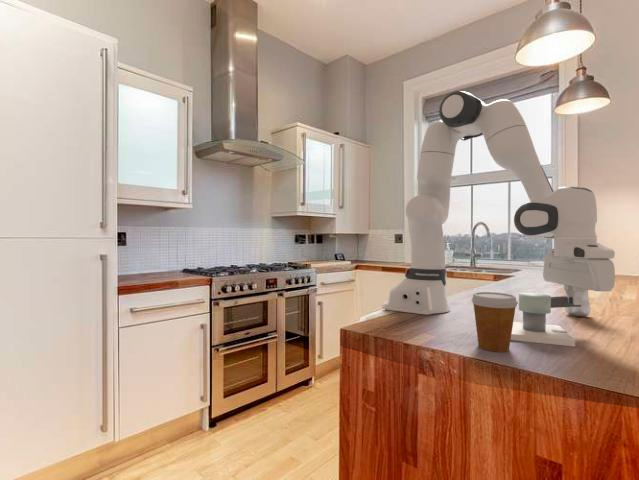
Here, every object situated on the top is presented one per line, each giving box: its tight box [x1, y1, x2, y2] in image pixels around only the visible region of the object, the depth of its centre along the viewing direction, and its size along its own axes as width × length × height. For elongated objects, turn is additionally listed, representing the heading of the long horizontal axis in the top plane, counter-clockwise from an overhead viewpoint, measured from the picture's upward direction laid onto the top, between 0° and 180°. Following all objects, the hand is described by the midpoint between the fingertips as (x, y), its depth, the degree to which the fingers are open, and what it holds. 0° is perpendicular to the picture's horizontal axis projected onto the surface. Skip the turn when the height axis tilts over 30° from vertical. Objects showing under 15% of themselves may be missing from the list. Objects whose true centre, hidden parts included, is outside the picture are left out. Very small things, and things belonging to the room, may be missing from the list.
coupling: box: [518, 292, 581, 315], centre depth 91 cm, size 17×7×4 cm, turn 101°
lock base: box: [510, 311, 576, 347], centre depth 90 cm, size 14×14×6 cm
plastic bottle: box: [564, 289, 591, 318], centre depth 111 cm, size 6×7×20 cm
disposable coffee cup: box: [470, 291, 519, 353], centre depth 80 cm, size 10×10×12 cm
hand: (574, 304), depth 89 cm, fingers closed
